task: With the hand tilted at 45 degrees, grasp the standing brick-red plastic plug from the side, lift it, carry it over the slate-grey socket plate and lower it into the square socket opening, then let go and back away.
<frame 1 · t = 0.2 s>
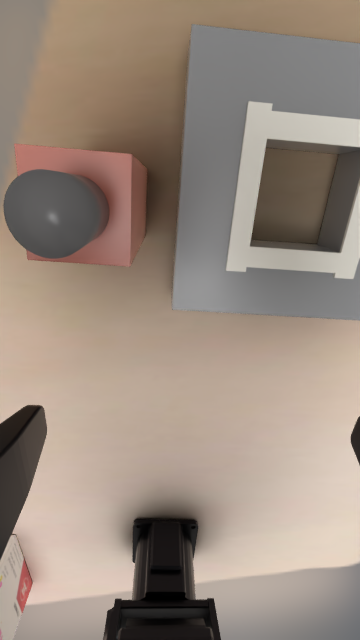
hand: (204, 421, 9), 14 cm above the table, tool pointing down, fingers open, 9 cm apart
socket plate: (286, 198, 20), on the table
ink cartridge box: (5, 558, 33), on the table
plug: (115, 201, 20), on the table
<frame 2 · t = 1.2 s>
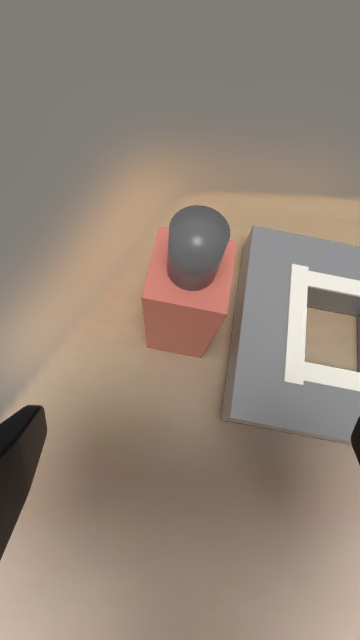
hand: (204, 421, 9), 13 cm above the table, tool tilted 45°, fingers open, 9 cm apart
socket plate: (322, 342, 24), on the table
plug: (179, 327, 23), on the table
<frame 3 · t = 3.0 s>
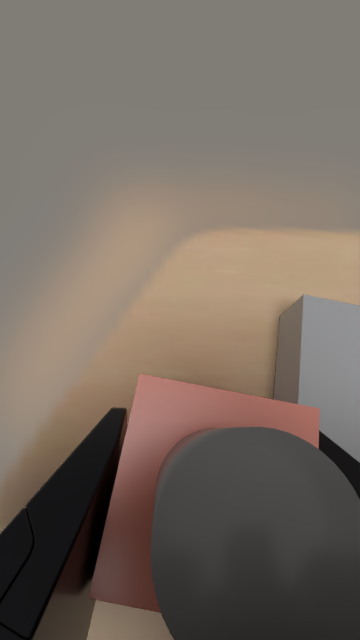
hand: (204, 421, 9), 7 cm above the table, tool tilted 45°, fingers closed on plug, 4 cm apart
plug: (184, 456, 15), on the table, touching gripper
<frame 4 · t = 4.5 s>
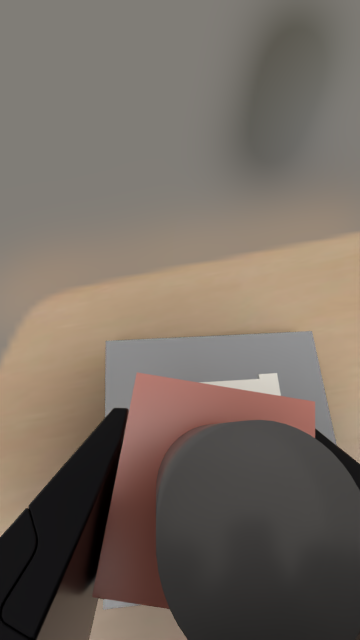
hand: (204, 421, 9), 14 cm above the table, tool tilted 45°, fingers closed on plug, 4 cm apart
socket plate: (215, 445, 21), on the table
plug: (181, 454, 15), point 7 cm above the table, touching gripper
when the fingers open (8 cm above the table, at t = 6.2 s): plug drops 2 cm, resting in socket plate.
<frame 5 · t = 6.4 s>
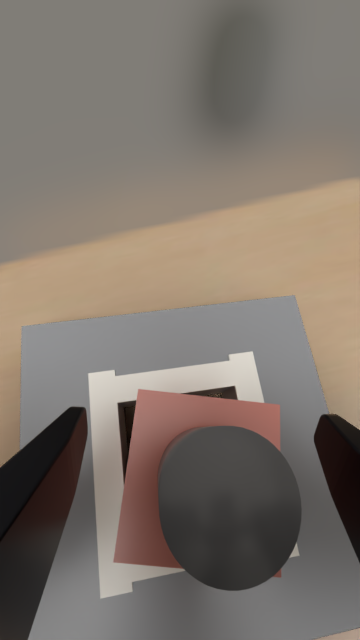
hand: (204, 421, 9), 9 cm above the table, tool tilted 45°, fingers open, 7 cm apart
socket plate: (181, 452, 16), on the table
plug: (179, 451, 16), resting in socket plate
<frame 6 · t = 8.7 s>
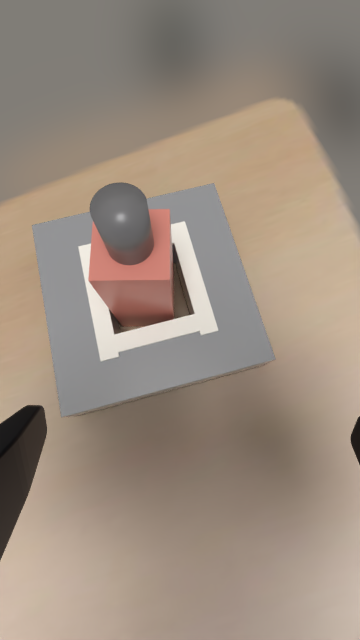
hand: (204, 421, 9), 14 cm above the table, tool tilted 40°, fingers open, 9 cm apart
socket plate: (150, 301, 24), on the table
plug: (148, 301, 24), resting in socket plate
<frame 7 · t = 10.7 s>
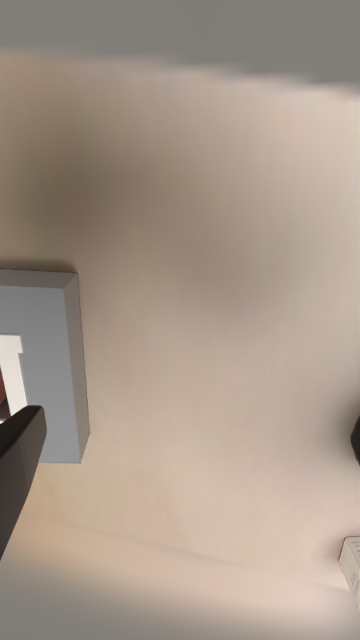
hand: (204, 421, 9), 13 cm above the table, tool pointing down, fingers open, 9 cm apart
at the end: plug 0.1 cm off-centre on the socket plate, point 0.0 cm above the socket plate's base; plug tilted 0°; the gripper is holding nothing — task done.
